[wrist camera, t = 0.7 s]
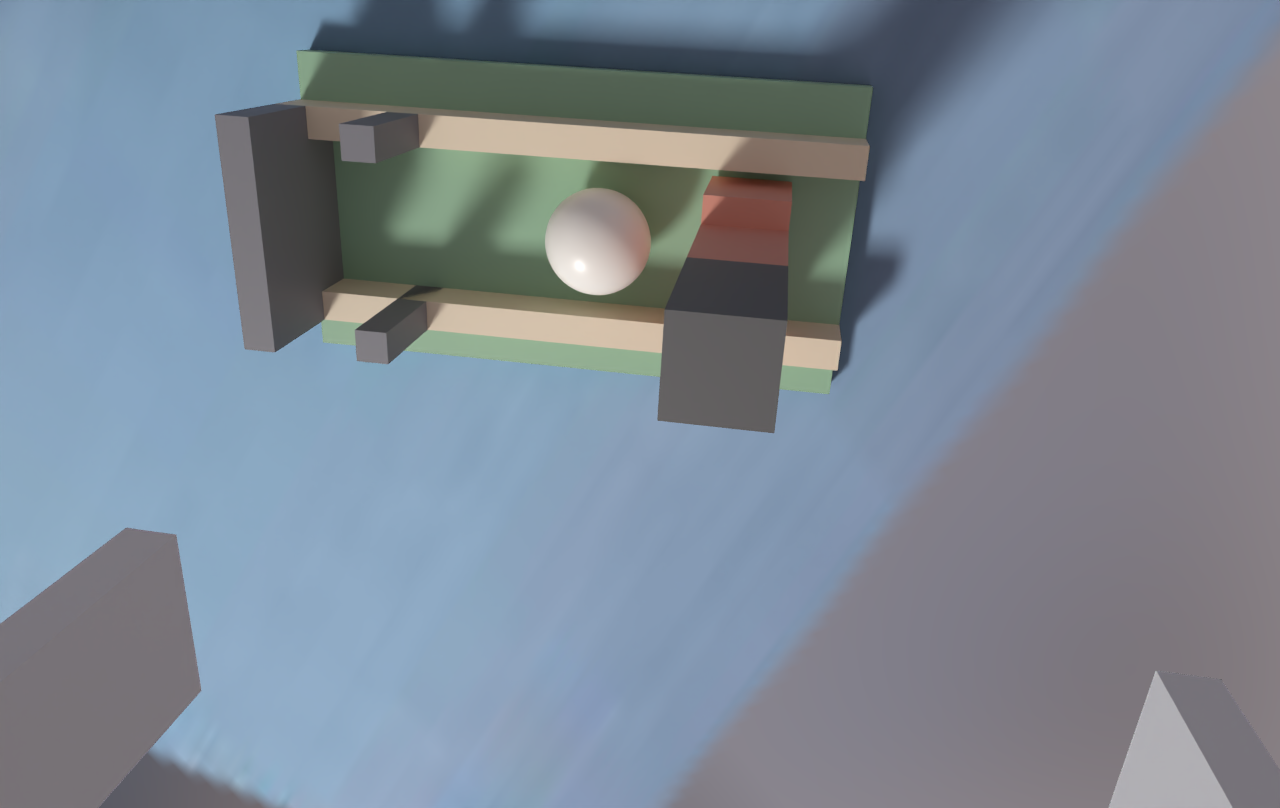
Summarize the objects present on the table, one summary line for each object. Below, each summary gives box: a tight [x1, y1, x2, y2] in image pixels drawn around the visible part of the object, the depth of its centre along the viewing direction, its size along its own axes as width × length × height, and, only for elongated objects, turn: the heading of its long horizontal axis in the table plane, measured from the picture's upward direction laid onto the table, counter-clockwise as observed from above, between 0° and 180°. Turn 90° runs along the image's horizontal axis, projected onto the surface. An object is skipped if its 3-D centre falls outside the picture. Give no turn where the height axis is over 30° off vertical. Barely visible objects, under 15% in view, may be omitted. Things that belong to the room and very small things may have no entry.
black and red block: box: [658, 176, 792, 433], centre depth 29 cm, size 5×3×14 cm, turn 178°
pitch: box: [215, 50, 873, 394], centre depth 35 cm, size 12×22×7 cm, turn 88°
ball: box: [545, 188, 651, 295], centre depth 35 cm, size 4×4×4 cm
